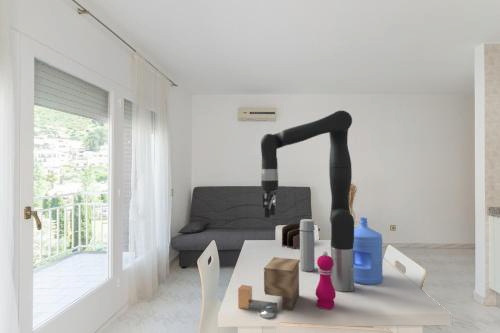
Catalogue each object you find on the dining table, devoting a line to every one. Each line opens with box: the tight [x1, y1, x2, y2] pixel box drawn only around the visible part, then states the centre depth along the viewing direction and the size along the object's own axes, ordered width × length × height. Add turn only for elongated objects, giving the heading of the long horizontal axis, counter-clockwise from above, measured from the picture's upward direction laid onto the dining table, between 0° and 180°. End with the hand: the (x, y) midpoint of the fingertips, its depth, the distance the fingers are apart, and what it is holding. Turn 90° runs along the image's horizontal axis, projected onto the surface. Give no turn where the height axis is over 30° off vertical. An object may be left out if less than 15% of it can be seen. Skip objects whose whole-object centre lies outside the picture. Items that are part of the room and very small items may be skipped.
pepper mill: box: [315, 251, 337, 310], centre depth 114 cm, size 7×7×20 cm
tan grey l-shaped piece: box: [237, 284, 278, 313], centre depth 112 cm, size 14×4×7 cm, turn 71°
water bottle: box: [299, 218, 316, 273], centre depth 156 cm, size 9×8×25 cm
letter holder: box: [281, 222, 301, 250], centre depth 207 cm, size 10×20×14 cm, turn 136°
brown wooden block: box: [263, 257, 300, 311], centre depth 118 cm, size 11×15×14 cm
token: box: [259, 308, 276, 320], centre depth 107 cm, size 5×5×2 cm
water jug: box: [353, 217, 384, 286], centre depth 141 cm, size 16×16×28 cm
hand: (270, 216), depth 136 cm, fingers open, 8 cm apart
